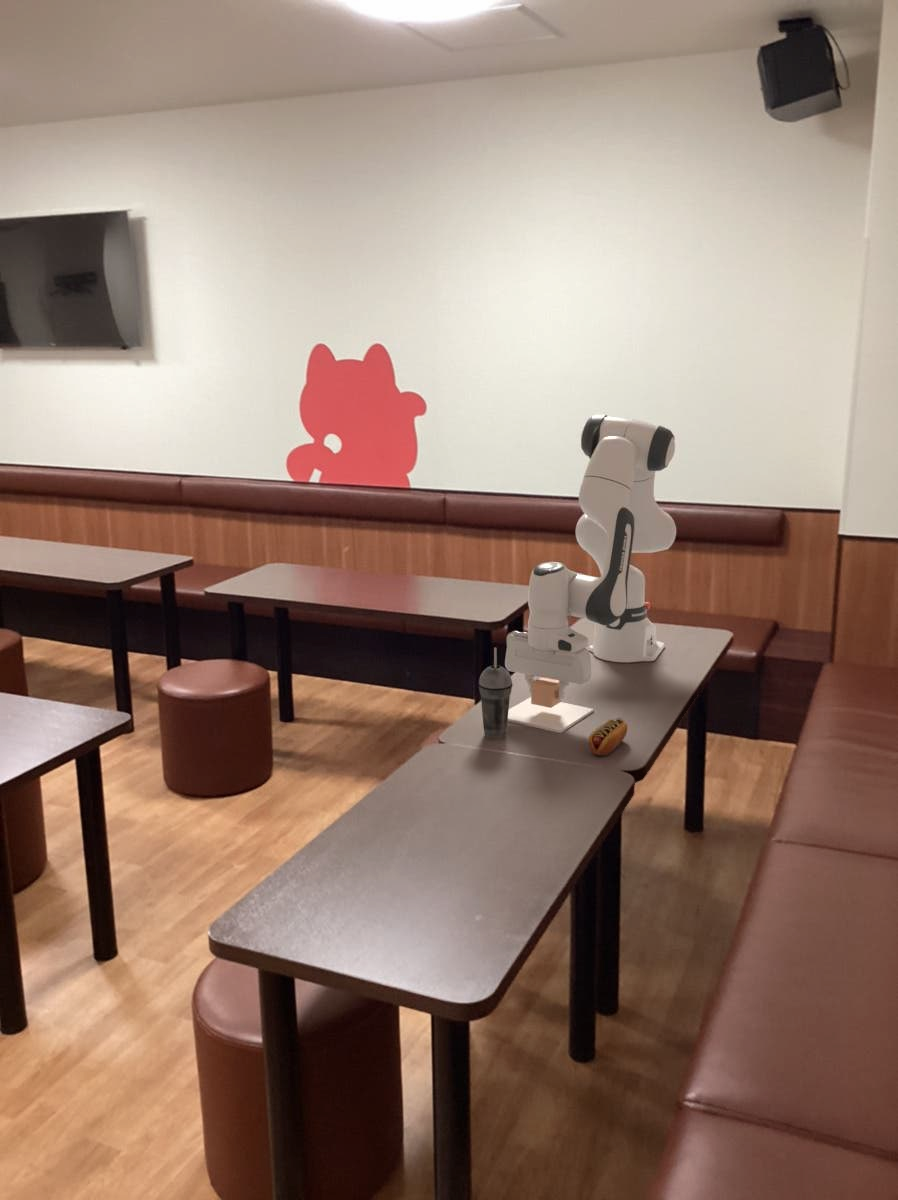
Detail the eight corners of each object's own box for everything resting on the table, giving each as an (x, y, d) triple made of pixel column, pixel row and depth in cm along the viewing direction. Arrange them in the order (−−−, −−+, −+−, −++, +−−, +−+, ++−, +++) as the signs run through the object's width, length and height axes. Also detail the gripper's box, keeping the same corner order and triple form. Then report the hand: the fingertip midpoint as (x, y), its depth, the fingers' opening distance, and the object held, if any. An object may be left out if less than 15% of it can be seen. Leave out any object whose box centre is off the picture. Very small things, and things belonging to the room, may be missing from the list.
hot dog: (582, 756, 212) (583, 733, 211) (607, 736, 223) (608, 713, 222) (605, 761, 210) (606, 738, 208) (630, 740, 221) (630, 718, 219)
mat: (532, 698, 246) (532, 696, 246) (593, 711, 237) (593, 708, 237) (496, 718, 233) (496, 716, 233) (560, 733, 224) (560, 730, 224)
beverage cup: (512, 730, 226) (513, 641, 221) (511, 742, 219) (512, 651, 214) (479, 729, 227) (479, 640, 222) (476, 741, 220) (477, 650, 215)
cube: (541, 697, 238) (542, 676, 237) (561, 701, 235) (561, 680, 234) (531, 703, 234) (531, 682, 232) (550, 707, 231) (551, 686, 230)
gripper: (500, 632, 234) (499, 691, 237) (582, 646, 223) (580, 708, 226) (514, 626, 239) (513, 683, 242) (595, 639, 228) (593, 699, 231)
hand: (546, 695), depth 234 cm, fingers closed on cube, 5 cm apart
